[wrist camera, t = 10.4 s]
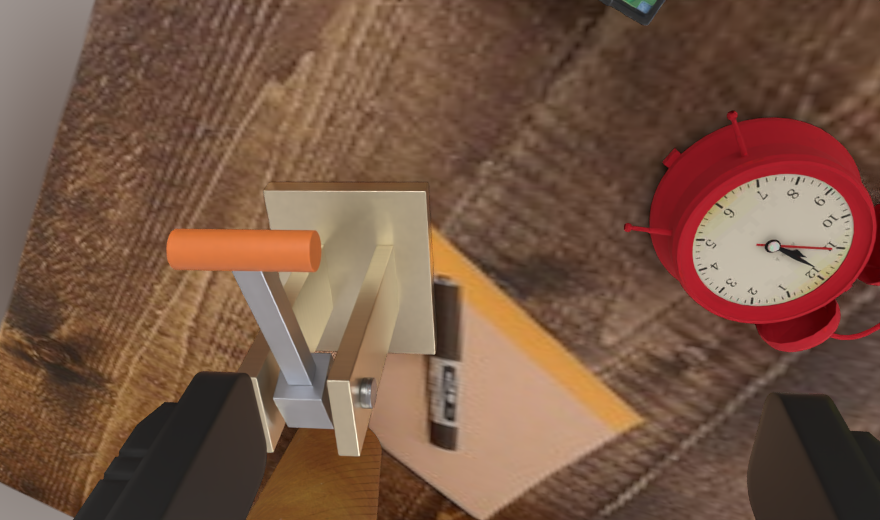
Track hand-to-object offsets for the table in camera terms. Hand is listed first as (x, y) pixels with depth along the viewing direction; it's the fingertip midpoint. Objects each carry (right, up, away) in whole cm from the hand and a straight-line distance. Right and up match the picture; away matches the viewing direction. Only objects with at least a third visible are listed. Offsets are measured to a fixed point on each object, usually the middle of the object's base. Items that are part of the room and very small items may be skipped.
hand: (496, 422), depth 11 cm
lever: (-7, 0, +18) cm, 19 cm away
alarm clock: (+17, +5, +26) cm, 31 cm away
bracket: (-6, +2, +30) cm, 31 cm away
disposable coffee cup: (-8, -11, +38) cm, 40 cm away
